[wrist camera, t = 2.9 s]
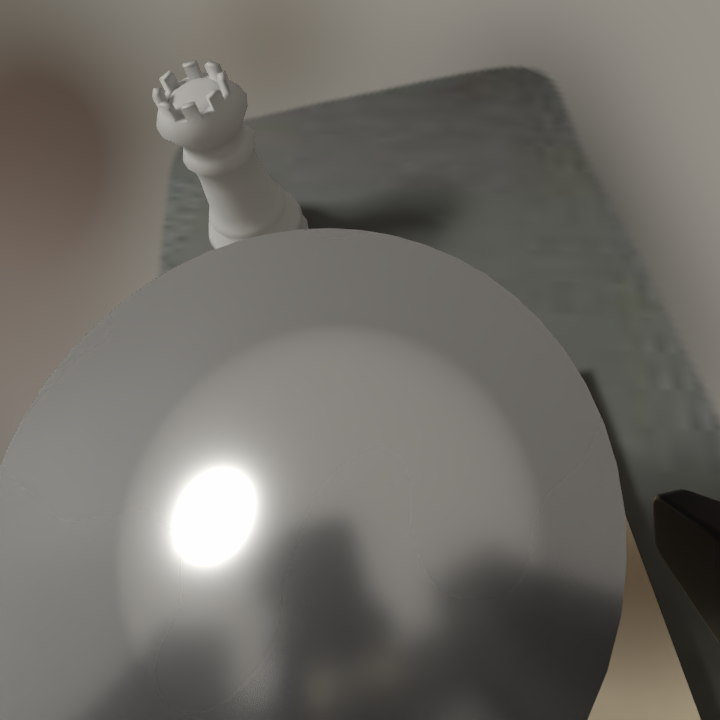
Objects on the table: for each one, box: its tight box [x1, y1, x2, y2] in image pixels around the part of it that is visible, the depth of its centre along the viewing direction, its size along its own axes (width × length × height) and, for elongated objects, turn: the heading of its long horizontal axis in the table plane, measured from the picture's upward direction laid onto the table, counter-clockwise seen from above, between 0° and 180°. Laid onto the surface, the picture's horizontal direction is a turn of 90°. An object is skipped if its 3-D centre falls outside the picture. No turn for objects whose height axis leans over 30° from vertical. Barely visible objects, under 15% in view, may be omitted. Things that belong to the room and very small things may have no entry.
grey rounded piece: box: [0, 228, 627, 720], centre depth 9 cm, size 6×6×13 cm
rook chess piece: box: [152, 60, 308, 249], centre depth 19 cm, size 4×4×8 cm
